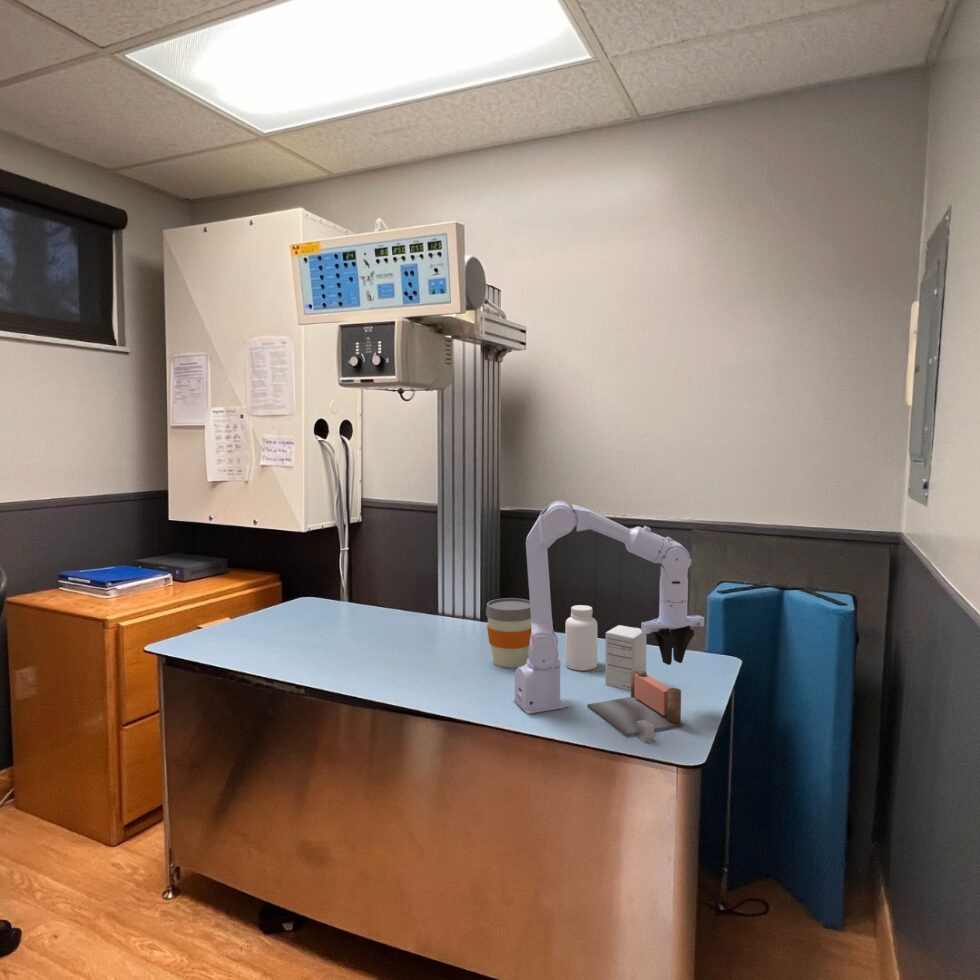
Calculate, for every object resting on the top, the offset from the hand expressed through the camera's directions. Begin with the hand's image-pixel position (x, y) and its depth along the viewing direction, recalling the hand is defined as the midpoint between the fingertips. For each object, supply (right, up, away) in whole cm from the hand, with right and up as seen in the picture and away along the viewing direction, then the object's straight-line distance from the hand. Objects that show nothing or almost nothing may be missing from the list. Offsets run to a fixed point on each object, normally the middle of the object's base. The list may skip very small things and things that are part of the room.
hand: (672, 662), depth 146 cm
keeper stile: (-9, -11, -14) cm, 20 cm away
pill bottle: (-16, -8, +27) cm, 32 cm away
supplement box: (-7, -9, +15) cm, 19 cm away
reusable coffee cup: (-33, -8, +31) cm, 46 cm away
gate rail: (-4, -9, -1) cm, 10 cm away
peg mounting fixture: (-9, -10, -3) cm, 14 cm away
